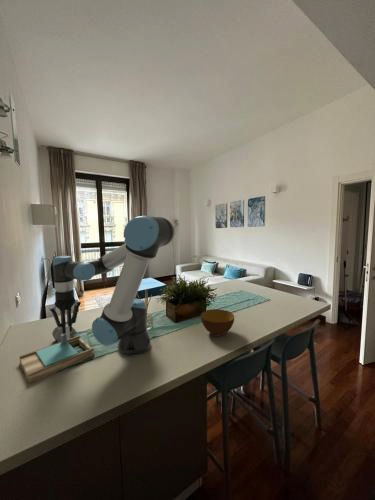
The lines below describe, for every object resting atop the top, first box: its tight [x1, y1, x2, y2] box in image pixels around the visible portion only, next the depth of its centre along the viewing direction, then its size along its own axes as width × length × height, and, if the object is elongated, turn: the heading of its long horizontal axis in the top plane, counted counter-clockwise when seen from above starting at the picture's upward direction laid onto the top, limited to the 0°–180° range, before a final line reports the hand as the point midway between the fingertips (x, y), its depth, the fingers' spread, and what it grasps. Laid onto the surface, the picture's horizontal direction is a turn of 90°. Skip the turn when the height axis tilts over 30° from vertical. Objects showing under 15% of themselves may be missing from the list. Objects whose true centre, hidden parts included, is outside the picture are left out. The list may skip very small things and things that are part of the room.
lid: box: [35, 334, 79, 367], centre depth 94 cm, size 15×12×5 cm
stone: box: [51, 321, 78, 343], centre depth 110 cm, size 10×10×10 cm
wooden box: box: [19, 335, 95, 384], centre depth 94 cm, size 17×24×3 cm
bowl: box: [200, 308, 235, 337], centre depth 117 cm, size 18×18×10 cm
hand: (67, 339), depth 102 cm, fingers closed
